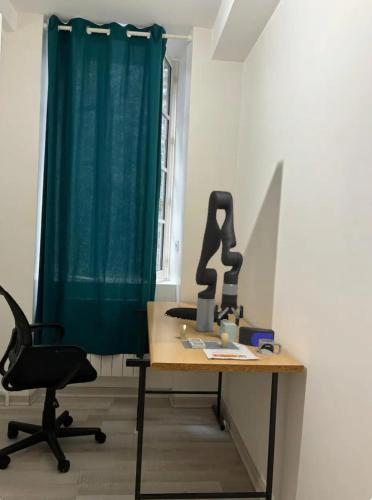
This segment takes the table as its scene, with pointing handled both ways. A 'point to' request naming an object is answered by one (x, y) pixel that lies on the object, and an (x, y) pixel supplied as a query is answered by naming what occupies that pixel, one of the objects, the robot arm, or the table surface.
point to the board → (209, 343)
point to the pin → (183, 331)
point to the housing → (228, 329)
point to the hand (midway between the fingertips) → (227, 326)
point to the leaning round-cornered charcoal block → (254, 335)
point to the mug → (268, 346)
